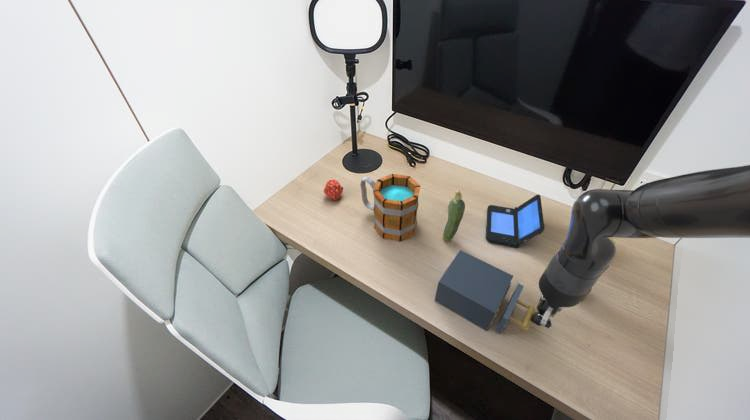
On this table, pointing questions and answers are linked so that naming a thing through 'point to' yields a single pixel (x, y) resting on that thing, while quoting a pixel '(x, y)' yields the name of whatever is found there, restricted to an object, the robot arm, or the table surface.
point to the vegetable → (454, 216)
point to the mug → (393, 205)
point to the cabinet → (472, 289)
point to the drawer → (510, 308)
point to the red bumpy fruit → (333, 189)
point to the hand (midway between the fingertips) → (536, 321)
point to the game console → (515, 223)
